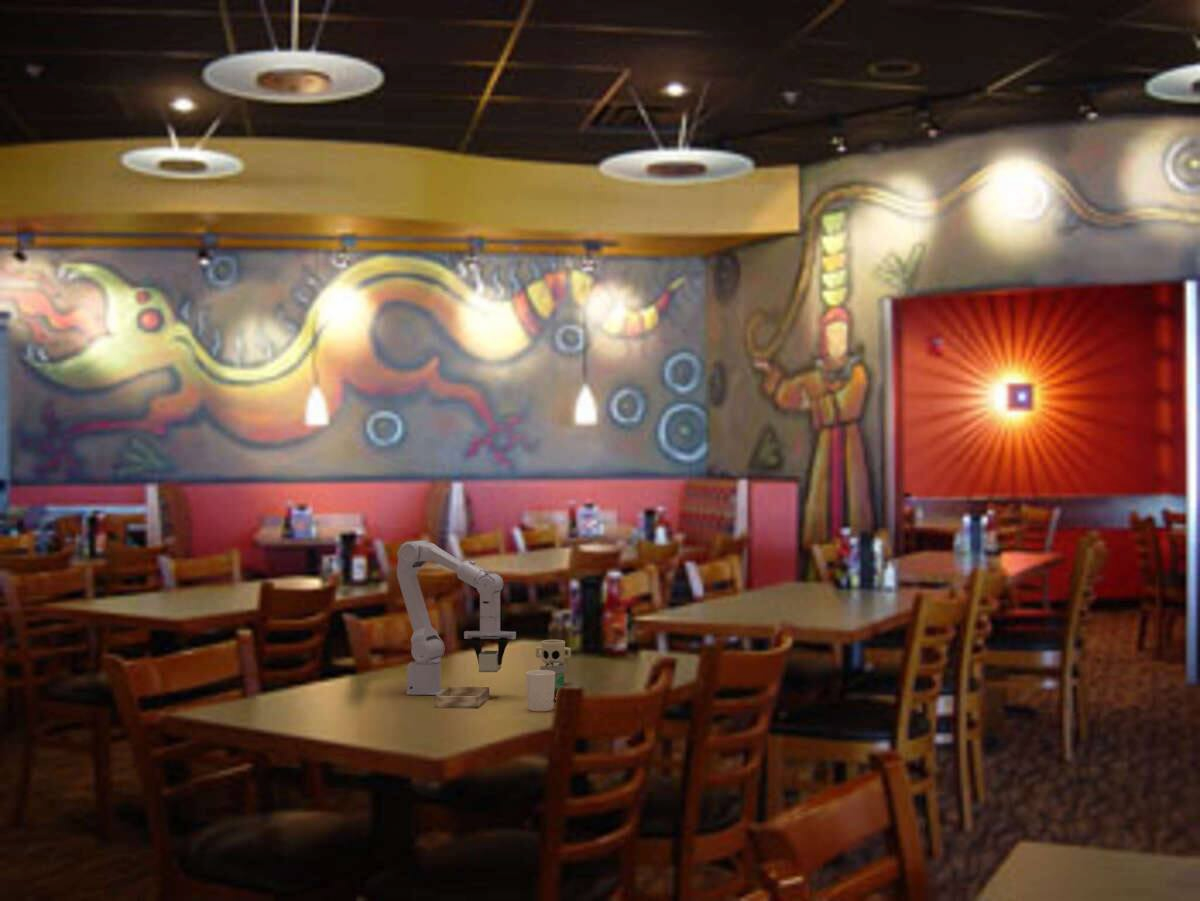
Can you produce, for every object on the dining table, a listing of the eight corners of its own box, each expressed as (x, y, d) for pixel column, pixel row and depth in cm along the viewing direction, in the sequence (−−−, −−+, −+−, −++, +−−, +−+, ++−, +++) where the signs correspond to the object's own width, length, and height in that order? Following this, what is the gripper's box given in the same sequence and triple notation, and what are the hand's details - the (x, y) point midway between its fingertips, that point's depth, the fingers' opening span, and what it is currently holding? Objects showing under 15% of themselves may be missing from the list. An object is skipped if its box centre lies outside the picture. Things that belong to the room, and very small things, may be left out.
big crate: (435, 707, 380) (435, 696, 380) (447, 697, 396) (447, 686, 396) (478, 708, 379) (478, 697, 379) (489, 697, 395) (489, 687, 395)
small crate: (478, 672, 392) (478, 654, 392) (483, 667, 400) (483, 650, 400) (496, 672, 392) (496, 654, 392) (501, 667, 400) (501, 650, 400)
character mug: (532, 685, 415) (532, 642, 415) (539, 682, 422) (539, 639, 422) (567, 687, 413) (567, 643, 413) (574, 683, 420) (573, 640, 420)
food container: (561, 703, 387) (561, 667, 387) (539, 702, 388) (539, 666, 388) (571, 695, 399) (571, 660, 399) (550, 695, 400) (550, 660, 400)
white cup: (535, 713, 372) (535, 675, 372) (520, 708, 379) (520, 671, 379) (560, 710, 376) (560, 673, 376) (546, 705, 383) (546, 669, 383)
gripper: (462, 617, 393) (462, 666, 393) (513, 618, 391) (513, 666, 391) (466, 614, 400) (466, 662, 400) (517, 615, 398) (516, 663, 398)
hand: (490, 664), depth 396 cm, fingers closed on small crate, 5 cm apart
